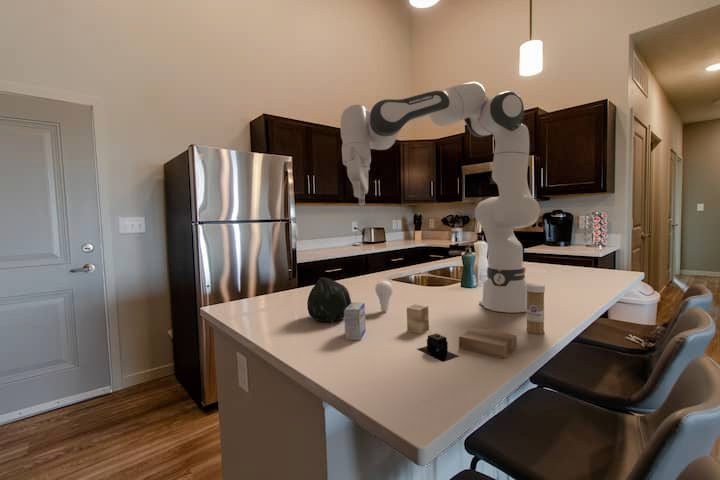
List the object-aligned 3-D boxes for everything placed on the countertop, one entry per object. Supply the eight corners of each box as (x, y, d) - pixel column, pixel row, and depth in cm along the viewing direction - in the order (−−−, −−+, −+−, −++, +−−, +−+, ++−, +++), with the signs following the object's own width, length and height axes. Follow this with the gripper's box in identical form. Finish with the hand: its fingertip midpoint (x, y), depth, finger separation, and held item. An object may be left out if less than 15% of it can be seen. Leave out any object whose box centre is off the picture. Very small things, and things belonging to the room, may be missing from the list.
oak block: (415, 327, 105) (415, 304, 104) (428, 329, 102) (428, 306, 101) (407, 331, 102) (406, 307, 101) (420, 334, 99) (420, 309, 98)
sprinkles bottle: (526, 333, 96) (526, 285, 95) (526, 328, 100) (526, 282, 99) (545, 335, 94) (545, 286, 93) (543, 329, 98) (544, 282, 97)
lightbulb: (375, 309, 126) (375, 279, 125) (392, 309, 125) (392, 278, 125) (376, 314, 120) (375, 282, 119) (393, 313, 119) (392, 282, 119)
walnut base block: (474, 337, 94) (474, 326, 94) (516, 346, 87) (516, 335, 87) (459, 348, 87) (459, 336, 87) (503, 358, 80) (503, 346, 80)
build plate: (467, 359, 82) (466, 340, 81) (444, 367, 78) (443, 347, 78) (430, 344, 92) (430, 327, 92) (409, 350, 89) (408, 332, 88)
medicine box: (360, 340, 95) (359, 309, 94) (344, 340, 96) (343, 309, 95) (365, 331, 103) (364, 302, 102) (351, 330, 104) (350, 302, 103)
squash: (361, 297, 123) (331, 266, 122) (356, 310, 108) (323, 275, 107) (332, 322, 125) (303, 292, 124) (324, 339, 110) (291, 305, 110)
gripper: (362, 142, 97) (365, 190, 95) (370, 167, 117) (373, 207, 115) (340, 145, 97) (343, 192, 95) (351, 169, 118) (354, 209, 115)
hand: (359, 200), depth 105 cm, fingers open, 8 cm apart
